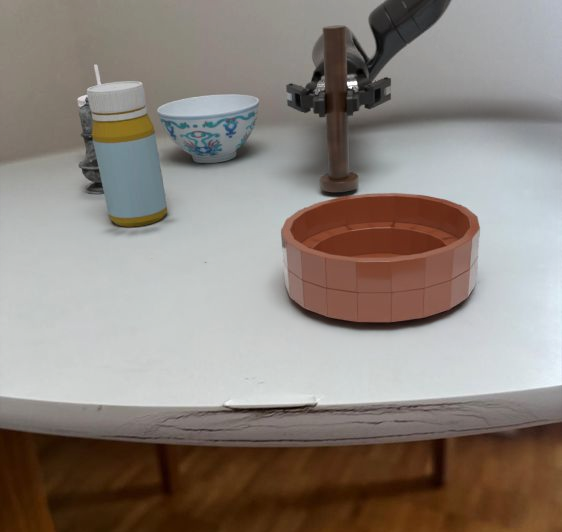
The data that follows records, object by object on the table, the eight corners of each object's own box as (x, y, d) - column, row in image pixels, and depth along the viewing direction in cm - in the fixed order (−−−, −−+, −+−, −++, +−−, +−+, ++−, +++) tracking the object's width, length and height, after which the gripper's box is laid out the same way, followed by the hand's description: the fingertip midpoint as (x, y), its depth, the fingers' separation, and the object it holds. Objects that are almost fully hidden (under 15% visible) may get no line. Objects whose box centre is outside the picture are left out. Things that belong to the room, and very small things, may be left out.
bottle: (104, 216, 86) (75, 87, 78) (157, 204, 88) (135, 78, 80) (119, 232, 80) (91, 95, 72) (176, 219, 83) (154, 85, 75)
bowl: (435, 243, 70) (438, 184, 67) (506, 315, 56) (513, 245, 53) (274, 264, 69) (269, 205, 66) (305, 343, 55) (300, 273, 52)
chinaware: (226, 174, 97) (219, 117, 93) (145, 166, 105) (136, 113, 101) (281, 148, 108) (277, 95, 104) (205, 142, 115) (198, 93, 111)
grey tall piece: (114, 179, 100) (96, 90, 94) (134, 186, 96) (117, 94, 90) (76, 189, 97) (55, 98, 91) (95, 197, 93) (75, 103, 87)
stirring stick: (353, 178, 89) (350, 22, 80) (362, 189, 85) (360, 26, 76) (316, 183, 89) (309, 27, 79) (324, 194, 85) (317, 30, 75)
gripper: (392, 107, 95) (397, 137, 80) (291, 113, 96) (277, 144, 82) (393, 47, 91) (397, 67, 76) (287, 54, 93) (272, 75, 78)
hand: (335, 107), depth 79 cm, fingers closed on stirring stick, 2 cm apart
